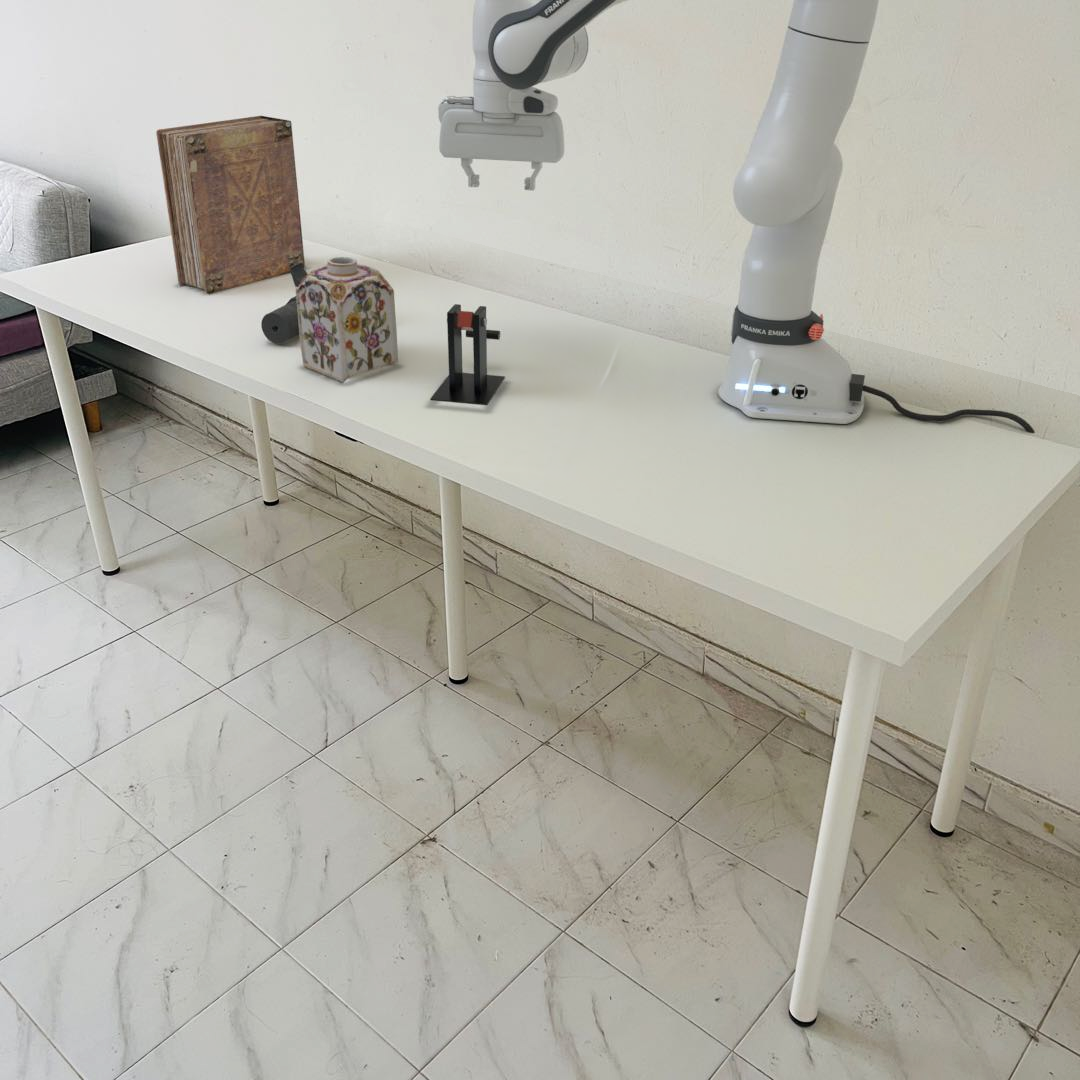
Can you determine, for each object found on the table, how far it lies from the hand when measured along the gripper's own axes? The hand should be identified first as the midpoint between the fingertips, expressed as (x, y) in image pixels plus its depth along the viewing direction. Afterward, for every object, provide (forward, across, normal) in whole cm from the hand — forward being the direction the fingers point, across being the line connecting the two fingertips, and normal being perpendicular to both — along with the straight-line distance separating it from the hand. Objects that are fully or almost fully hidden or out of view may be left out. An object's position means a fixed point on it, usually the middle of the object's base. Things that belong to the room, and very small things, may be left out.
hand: (501, 188), depth 179 cm
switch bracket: (+27, 0, -23) cm, 36 cm away
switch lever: (+19, 0, -19) cm, 27 cm away
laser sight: (+27, -37, +2) cm, 46 cm away
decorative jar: (+27, -22, -16) cm, 39 cm away
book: (+27, -62, +29) cm, 74 cm away
